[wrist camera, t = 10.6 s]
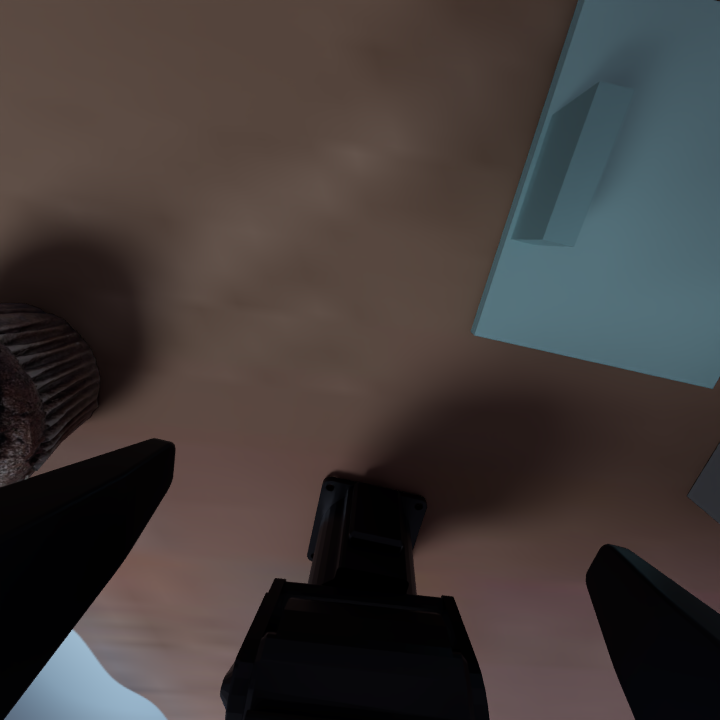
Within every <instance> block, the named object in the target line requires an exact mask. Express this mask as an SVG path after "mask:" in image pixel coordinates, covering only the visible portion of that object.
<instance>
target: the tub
mask: <svg viewBox="0 0 720 720" xmlns="http://www.w3.org/2000/svg"><path fill="white" fill-rule="evenodd" d="M687 497H688V498H690V499H691V500H692V501H693V502H694V503H695V504H697V505H698V506H699V507H700V508H701V509H703V510H704V511H705V512H706V513H707V514H709V515H710V516H711V517H712V518H713V519H714V520H716V521H717V522H718V523H719V524H720V443H719V445H718V446H717V448H716V450H715V451H714V453H713V455H712V456H711V458H710V459H709V461H708V463H707V464H706V466H705V468H704V469H703V471H702V472H701V474H700V476H699V477H698V479H697V481H696V482H695V484H694V485H693V487H692V489H691V490H690V492H689V494H688V495H687Z"/></svg>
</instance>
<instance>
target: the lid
mask: <svg viewBox="0 0 720 720" xmlns="http://www.w3.org/2000/svg"><path fill="white" fill-rule="evenodd" d="M471 332H472V333H473V334H474V335H475V336H480V337H484V338H489V339H493V340H498V341H502V342H507V343H511V344H515V345H520V346H524V347H529V348H533V349H538V350H542V351H547V352H551V353H555V354H560V355H564V356H569V357H573V358H578V359H582V360H586V361H591V362H595V363H600V364H604V365H609V366H613V367H618V368H622V369H626V370H631V371H635V372H640V373H644V374H649V375H653V376H658V377H662V378H666V379H671V380H675V381H680V382H684V383H689V384H693V385H698V386H702V387H706V388H711V389H713V387H714V386H715V384H716V382H717V380H718V379H719V377H720V1H716V0H578V3H577V6H576V9H575V12H574V15H573V18H572V21H571V24H570V27H569V30H568V34H567V37H566V40H565V43H564V46H563V49H562V52H561V55H560V58H559V61H558V64H557V67H556V70H555V74H554V77H553V80H552V83H551V86H550V89H549V92H548V95H547V98H546V101H545V104H544V107H543V110H542V114H541V117H540V120H539V123H538V126H537V129H536V132H535V135H534V138H533V141H532V144H531V147H530V150H529V154H528V157H527V160H526V163H525V166H524V169H523V172H522V175H521V178H520V181H519V184H518V187H517V190H516V194H515V197H514V200H513V203H512V206H511V209H510V212H509V215H508V218H507V221H506V224H505V227H504V230H503V234H502V237H501V240H500V243H499V246H498V249H497V252H496V255H495V258H494V261H493V264H492V267H491V270H490V274H489V277H488V280H487V283H486V286H485V289H484V292H483V295H482V298H481V301H480V304H479V307H478V310H477V314H476V317H475V320H474V323H473V326H472V329H471Z"/></svg>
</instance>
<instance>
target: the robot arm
mask: <svg viewBox="0 0 720 720" xmlns="http://www.w3.org/2000/svg"><path fill="white" fill-rule="evenodd" d="M174 461H175V445H174V444H173V443H172V442H170V441H165V440H161V439H156V438H153V439H149V440H146V441H143V442H140V443H137V444H133V445H130V446H127V447H124V448H121V449H118V450H115V451H112V452H109V453H105V454H102V455H99V456H96V457H93V458H90V459H87V460H84V461H81V462H77V463H74V464H71V465H68V466H65V467H62V468H59V469H56V470H53V471H49V472H46V473H43V474H40V475H37V476H34V477H31V478H28V479H25V480H21V481H18V482H15V483H12V484H9V485H6V486H3V487H0V720H4V719H5V717H6V716H7V715H8V714H9V712H10V711H11V709H12V708H13V707H14V706H15V704H16V703H17V702H18V700H19V699H20V698H21V696H22V695H23V694H24V692H25V691H26V690H27V688H28V687H29V686H30V685H31V683H32V682H33V680H34V679H35V678H36V676H37V675H38V674H39V672H40V671H41V670H42V669H43V667H44V666H45V665H46V663H47V662H48V661H49V659H50V658H51V657H52V656H53V654H54V653H55V651H56V650H57V649H58V648H59V646H60V645H61V644H62V642H63V641H64V640H65V638H66V637H67V636H68V634H69V633H70V632H71V630H72V629H73V628H74V626H75V625H76V624H77V623H78V621H79V620H80V619H81V617H82V616H83V615H84V613H85V612H86V611H87V609H88V608H89V607H90V605H91V604H92V603H93V601H94V600H95V599H96V597H97V596H98V595H99V594H100V592H101V591H102V590H103V588H104V587H105V586H106V584H107V583H108V582H109V580H110V579H111V578H112V576H113V575H114V574H115V572H116V571H117V570H118V568H119V567H120V566H121V564H122V563H123V561H124V560H125V559H126V557H127V555H128V554H129V552H130V551H131V549H132V548H133V546H134V545H135V543H136V541H137V540H138V538H139V536H140V535H141V533H142V532H143V530H144V528H145V527H146V525H147V523H148V522H149V520H150V519H151V517H152V515H153V514H154V512H155V510H156V509H157V507H158V506H159V504H160V502H161V501H162V499H163V497H164V496H165V494H166V493H167V491H168V489H169V487H170V485H171V483H172V479H173V472H174ZM328 484H332V485H333V487H329V486H328ZM417 503H420V504H421V505H419V506H417V505H415V504H417ZM426 509H427V503H426V500H425V498H424V497H422V496H419V495H415V494H410V493H405V492H401V491H397V490H393V489H388V488H384V487H379V486H374V485H370V484H365V483H360V482H354V481H350V480H345V479H340V478H336V477H327V478H325V479H324V481H323V484H322V489H321V493H320V498H319V502H318V507H317V512H316V516H315V521H314V526H313V530H312V535H311V539H310V544H309V549H308V553H307V557H308V559H309V560H310V561H312V566H311V571H310V575H309V580H308V584H306V583H296V582H286V579H279V578H275V579H274V581H273V584H272V586H271V588H270V590H269V592H266V594H265V596H264V598H263V601H262V603H261V605H260V607H259V609H258V611H257V614H256V616H255V618H254V620H253V622H252V624H251V627H250V629H249V631H248V633H247V635H246V637H245V640H244V642H243V644H242V646H241V648H240V650H239V653H238V655H237V657H236V660H235V662H234V664H233V665H232V667H231V668H230V670H229V671H228V672H227V674H226V675H225V677H224V680H223V683H222V686H221V691H220V697H221V699H222V702H223V704H224V706H225V709H226V715H225V720H489V711H488V703H487V697H486V691H485V686H484V682H483V678H482V674H481V670H480V667H479V664H478V661H477V659H476V656H475V653H474V651H473V648H472V645H471V642H470V640H469V637H468V634H467V632H466V629H465V626H464V624H463V621H462V618H461V616H460V613H459V610H458V608H457V605H456V602H455V600H454V597H453V596H443V595H442V596H441V598H440V597H430V596H421V595H417V592H416V582H415V573H414V563H413V553H412V551H413V548H414V545H415V542H416V539H417V536H418V533H419V530H420V527H421V524H422V521H423V518H424V515H425V512H426ZM586 585H587V589H588V592H589V595H590V598H591V601H592V604H593V607H594V610H595V613H596V616H597V619H598V622H599V625H600V628H601V631H602V634H603V637H604V640H605V643H606V646H607V649H608V652H609V655H610V658H611V661H612V663H613V666H614V669H615V672H616V674H617V677H618V679H619V682H620V684H621V687H622V689H623V692H624V694H625V696H626V699H627V701H628V703H629V706H630V708H631V711H632V713H633V715H634V718H635V720H720V614H719V613H717V612H716V611H715V610H713V609H712V608H710V607H709V606H708V605H706V604H705V603H703V602H702V601H701V600H699V599H698V598H696V597H695V596H694V595H692V594H691V593H689V592H688V591H687V590H685V589H684V588H682V587H681V586H680V585H678V584H677V583H675V582H674V581H672V580H671V579H670V578H668V577H667V576H665V575H664V574H663V573H661V572H660V571H658V570H657V569H656V568H654V567H653V566H651V565H650V564H649V563H647V562H646V561H644V560H643V559H642V558H640V557H639V556H637V555H636V554H635V553H633V552H632V551H630V550H629V549H626V548H624V547H620V546H615V545H611V544H605V545H603V546H602V547H601V548H600V550H599V551H598V553H597V555H596V557H595V558H594V560H593V562H592V564H591V565H590V567H589V569H588V571H587V574H586Z"/></svg>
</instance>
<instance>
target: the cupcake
mask: <svg viewBox="0 0 720 720" xmlns="http://www.w3.org/2000/svg"><path fill="white" fill-rule="evenodd" d="M99 387H100V374H99V370H98V367H97V365H96V359H95V357H94V356H93V353H92V350H91V349H90V348H89V347H88V345H87V343H86V341H85V340H83V339H82V338H81V336H80V334H79V333H78V332H76V331H75V330H73V328H72V327H71V326H70V325H69V324H68V323H67V322H66V321H65V320H64V319H62V318H59V317H57V316H55V315H53V314H47V313H45V312H44V311H42V310H41V309H39V308H37V307H34V306H31V305H28V304H21V303H0V487H3V486H6V485H9V484H12V483H15V482H18V481H21V480H25V479H28V478H29V477H30V476H31V475H32V474H33V473H34V472H35V471H37V470H38V469H39V468H40V467H41V466H42V465H43V464H44V462H45V461H46V460H47V459H48V458H49V457H50V455H51V454H52V453H53V452H54V451H55V449H56V448H57V447H58V446H59V445H60V443H61V442H62V441H63V440H65V439H66V438H67V437H68V436H69V435H70V434H71V433H73V432H74V431H75V430H76V429H77V428H78V427H79V426H81V425H82V424H83V423H84V422H85V421H86V420H88V419H89V418H90V417H91V415H92V412H93V411H94V410H95V409H96V408H97V407H98V400H97V397H98V393H99Z"/></svg>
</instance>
